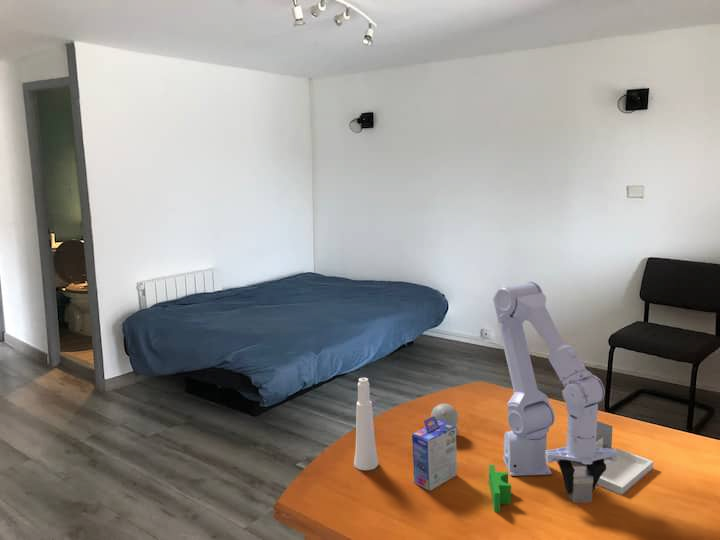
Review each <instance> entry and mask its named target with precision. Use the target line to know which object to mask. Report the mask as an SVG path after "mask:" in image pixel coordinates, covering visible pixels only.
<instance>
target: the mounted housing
mask: <svg viewBox="0 0 720 540" xmlns="http://www.w3.org/2000/svg"><path fill="white" fill-rule="evenodd" d="M613 427H614V426H613V425H610V424H607V423H605V422H601V421H598V420H597V433H596V447H599V448H608V449H614V450H615V448H613V447H612V441H613ZM571 463H572V466H573V467H580V466H586V467H587V464H583V463H582V462H577V461H571Z"/></svg>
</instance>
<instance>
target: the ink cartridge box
mask: <svg viewBox="0 0 720 540" xmlns="http://www.w3.org/2000/svg"><path fill="white" fill-rule="evenodd" d="M432 421H434V422H435V423H433V424H432V423H431V424H429V423H430V422H432ZM423 423H424V425H425V426H424V427H423V428H422V429H419V430H418V431H415V432H413V433H412V434H411V438H412V439H411V441H412V443H411V445H412V459H413V460H412V463H413V480H414V481H413V482H414V484H417V485H418V486H420V487H421V488H423V489H425V490H426V491H429V492H430V491H432V490H434V489H435V488H437V487H439V486H440V485H442V484H444V483H445V482H447V481H449V480H451V479H452V478H454V477H456V476H458V468H457V467H458V465H457V462H458V461H457V435H456V427H455V426H453V425H450V424H448V423H446V422H443V421H440V420H439V421H437V420H436V418H435V416H433V417H431V416H430V417H429V418H427V419H424V420H423Z"/></svg>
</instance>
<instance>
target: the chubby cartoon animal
mask: <svg viewBox="0 0 720 540" xmlns="http://www.w3.org/2000/svg"><path fill="white" fill-rule="evenodd" d="M433 416H435V418H436V420H437V421H439V420H440V421H443V422H446V423H448V424H450V425H453V426H455V427H456V436H458V435H459V428H458V426H457V425H458V421H459V415H458V411H457V410H456V409H455V408H454V406H452V405H451V404H449V403H440V404H437V405H436V406H435V407H433V409H432V411H431V413H430V418H431V417H433ZM433 423H435V422H434V421H431V424H433Z"/></svg>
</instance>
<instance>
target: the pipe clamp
mask: <svg viewBox="0 0 720 540" xmlns="http://www.w3.org/2000/svg"><path fill="white" fill-rule="evenodd" d="M508 472H509V471H508ZM508 472H506V471H505V472H502V471H496V467H495V465H494V464H488V484H489V489H490V495H491V500H492V506H493V510H494V511H493V512H494V513H501V505H511V504H512V502H511V501H512V485H511V483H509V473H508Z"/></svg>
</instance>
